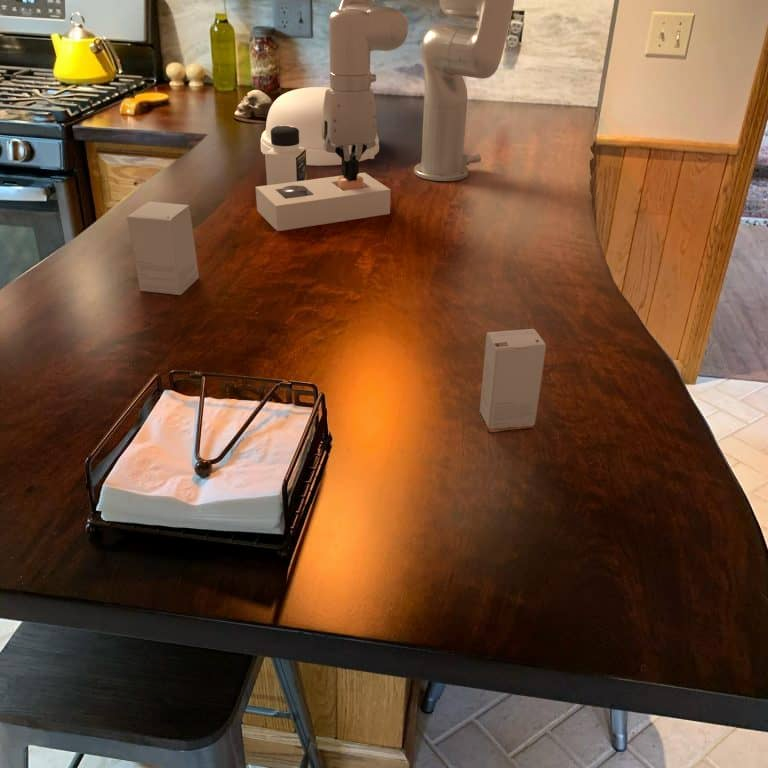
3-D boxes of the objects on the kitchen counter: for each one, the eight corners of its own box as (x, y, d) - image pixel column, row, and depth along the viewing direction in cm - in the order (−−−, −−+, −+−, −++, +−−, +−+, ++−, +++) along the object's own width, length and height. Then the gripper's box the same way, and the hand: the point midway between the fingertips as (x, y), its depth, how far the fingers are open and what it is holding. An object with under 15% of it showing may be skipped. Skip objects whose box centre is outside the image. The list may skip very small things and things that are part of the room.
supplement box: (200, 277, 128) (191, 204, 121) (180, 296, 122) (170, 220, 115) (159, 272, 129) (148, 199, 122) (138, 291, 123) (125, 215, 116)
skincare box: (523, 410, 97) (535, 325, 90) (535, 431, 93) (549, 344, 86) (476, 414, 96) (485, 329, 89) (486, 435, 92) (496, 348, 85)
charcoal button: (302, 203, 155) (301, 184, 153) (311, 211, 151) (311, 191, 149) (279, 207, 153) (278, 187, 151) (288, 215, 149) (287, 195, 147)
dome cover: (404, 145, 199) (406, 88, 191) (339, 174, 177) (338, 111, 169) (304, 126, 212) (302, 73, 205) (232, 151, 191) (227, 92, 183)
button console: (364, 195, 164) (364, 172, 161) (389, 213, 155) (390, 189, 152) (257, 211, 155) (255, 186, 152) (277, 231, 146) (276, 205, 143)
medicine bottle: (297, 188, 167) (295, 132, 161) (266, 185, 168) (263, 130, 162) (307, 178, 173) (305, 124, 167) (276, 176, 174) (274, 122, 168)
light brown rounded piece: (356, 192, 159) (356, 173, 157) (367, 200, 155) (367, 180, 153) (334, 195, 157) (334, 176, 155) (344, 203, 153) (344, 183, 151)
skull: (226, 119, 212) (230, 85, 214) (237, 137, 223) (241, 105, 224) (269, 120, 211) (272, 85, 213) (278, 138, 221) (281, 105, 223)
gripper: (376, 76, 150) (375, 169, 160) (305, 81, 144) (308, 178, 154) (394, 83, 144) (391, 180, 154) (320, 89, 138) (322, 189, 148)
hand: (350, 178), depth 154 cm, fingers closed
